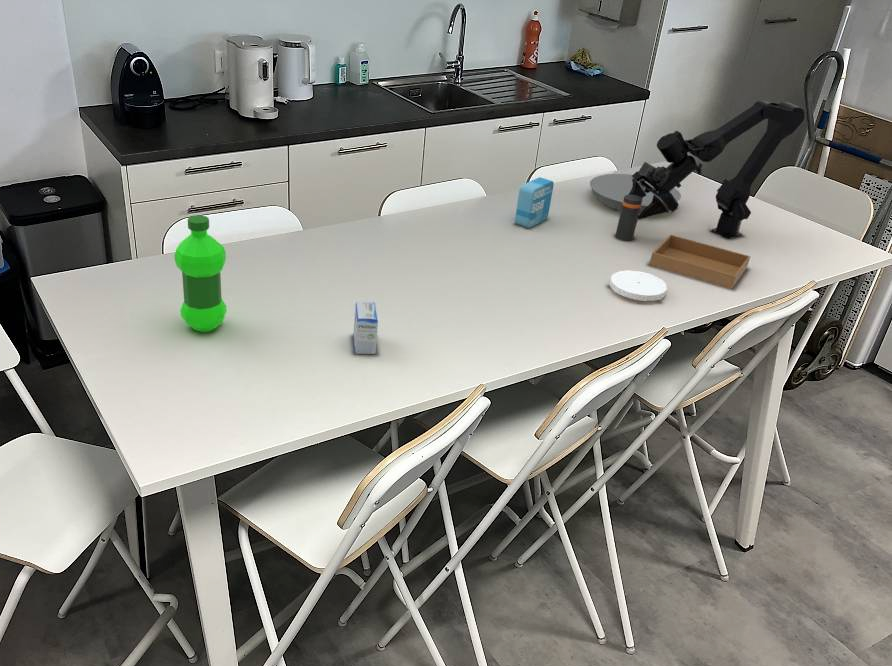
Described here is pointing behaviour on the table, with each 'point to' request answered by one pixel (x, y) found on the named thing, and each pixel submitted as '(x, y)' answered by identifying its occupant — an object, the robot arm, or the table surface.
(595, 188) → the flat disc
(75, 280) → the table surface
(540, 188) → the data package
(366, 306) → the medicine box
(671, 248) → the brown wooden tray
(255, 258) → the table surface
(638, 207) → the dark grey cylinder
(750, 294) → the table surface
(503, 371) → the table surface
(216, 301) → the plastic bottle
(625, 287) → the plastic lid
